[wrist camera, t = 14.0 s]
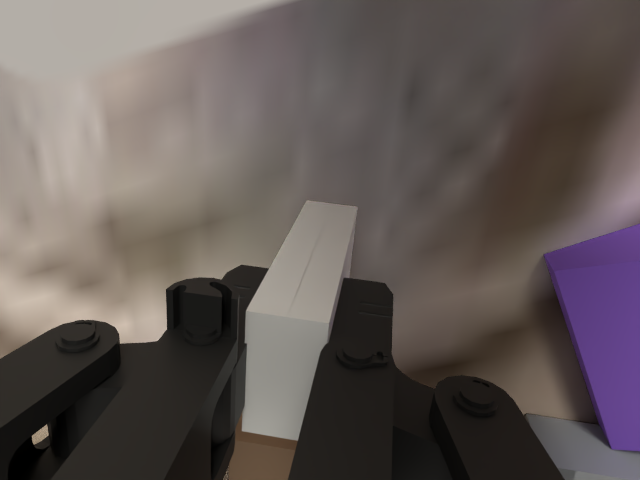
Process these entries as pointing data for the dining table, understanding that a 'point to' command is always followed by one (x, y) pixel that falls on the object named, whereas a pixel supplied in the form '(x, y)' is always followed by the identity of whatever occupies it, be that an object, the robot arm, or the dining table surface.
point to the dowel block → (260, 456)
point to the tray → (583, 450)
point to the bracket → (605, 325)
